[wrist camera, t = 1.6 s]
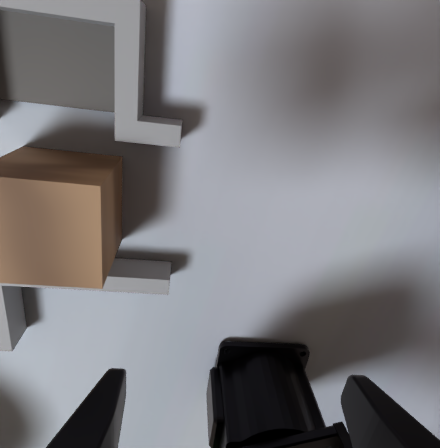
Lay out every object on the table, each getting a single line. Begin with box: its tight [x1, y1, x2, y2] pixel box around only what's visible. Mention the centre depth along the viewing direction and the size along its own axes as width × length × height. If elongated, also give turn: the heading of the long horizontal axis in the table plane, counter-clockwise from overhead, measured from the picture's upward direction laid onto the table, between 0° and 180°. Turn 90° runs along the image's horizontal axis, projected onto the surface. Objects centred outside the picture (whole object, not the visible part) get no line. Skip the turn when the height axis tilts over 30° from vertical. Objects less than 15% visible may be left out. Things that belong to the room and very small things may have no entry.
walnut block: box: [0, 146, 122, 289], centre depth 17 cm, size 5×5×5 cm
